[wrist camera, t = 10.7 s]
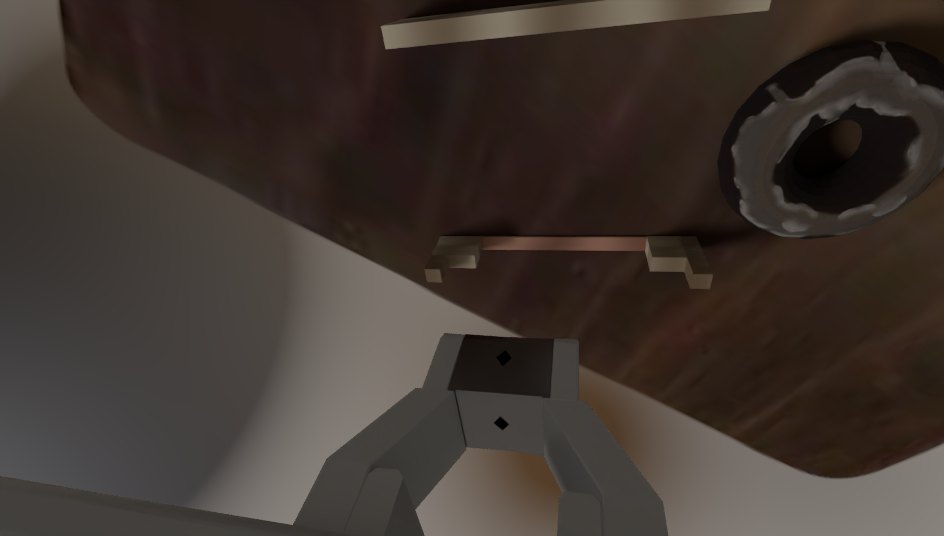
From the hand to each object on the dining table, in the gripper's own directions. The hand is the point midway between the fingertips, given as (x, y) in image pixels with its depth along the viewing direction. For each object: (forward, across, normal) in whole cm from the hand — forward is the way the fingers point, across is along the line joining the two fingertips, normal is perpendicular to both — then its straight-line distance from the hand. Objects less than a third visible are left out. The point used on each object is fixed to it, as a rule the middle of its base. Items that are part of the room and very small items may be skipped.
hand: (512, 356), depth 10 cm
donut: (+24, -16, +4) cm, 29 cm away
